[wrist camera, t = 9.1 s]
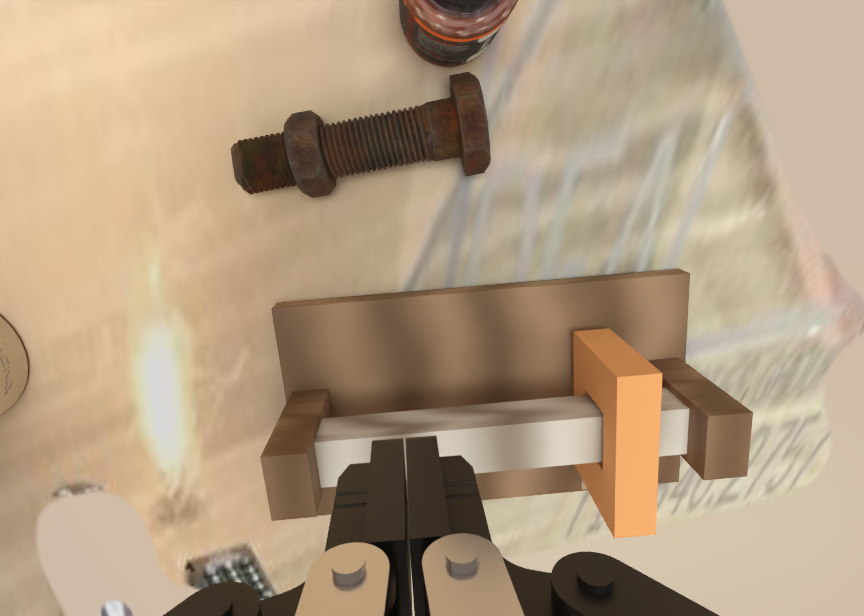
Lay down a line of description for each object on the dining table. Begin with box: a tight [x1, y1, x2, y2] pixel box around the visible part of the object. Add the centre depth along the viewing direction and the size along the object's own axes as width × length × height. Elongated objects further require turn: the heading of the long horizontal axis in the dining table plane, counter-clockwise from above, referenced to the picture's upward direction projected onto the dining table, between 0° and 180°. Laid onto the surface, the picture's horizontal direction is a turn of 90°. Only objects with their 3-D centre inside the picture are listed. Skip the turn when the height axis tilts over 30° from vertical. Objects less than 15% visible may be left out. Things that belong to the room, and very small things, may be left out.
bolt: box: [231, 72, 491, 198], centre depth 33 cm, size 6×5×15 cm
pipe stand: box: [260, 269, 753, 521], centre depth 35 cm, size 28×16×10 cm, turn 94°
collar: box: [573, 328, 662, 538], centre depth 34 cm, size 2×10×8 cm, turn 4°
